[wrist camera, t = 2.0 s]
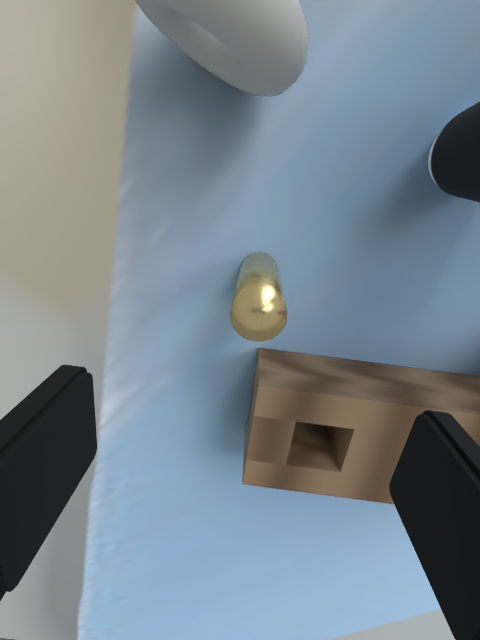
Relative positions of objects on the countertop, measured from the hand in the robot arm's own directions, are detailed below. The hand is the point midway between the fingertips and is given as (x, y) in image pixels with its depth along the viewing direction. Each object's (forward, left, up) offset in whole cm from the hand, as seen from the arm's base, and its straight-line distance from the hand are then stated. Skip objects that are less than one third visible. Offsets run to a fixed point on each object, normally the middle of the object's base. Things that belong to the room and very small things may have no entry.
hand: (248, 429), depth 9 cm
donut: (-14, -4, -19) cm, 24 cm away
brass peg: (0, 0, -18) cm, 18 cm away
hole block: (+12, +12, -18) cm, 25 cm away
